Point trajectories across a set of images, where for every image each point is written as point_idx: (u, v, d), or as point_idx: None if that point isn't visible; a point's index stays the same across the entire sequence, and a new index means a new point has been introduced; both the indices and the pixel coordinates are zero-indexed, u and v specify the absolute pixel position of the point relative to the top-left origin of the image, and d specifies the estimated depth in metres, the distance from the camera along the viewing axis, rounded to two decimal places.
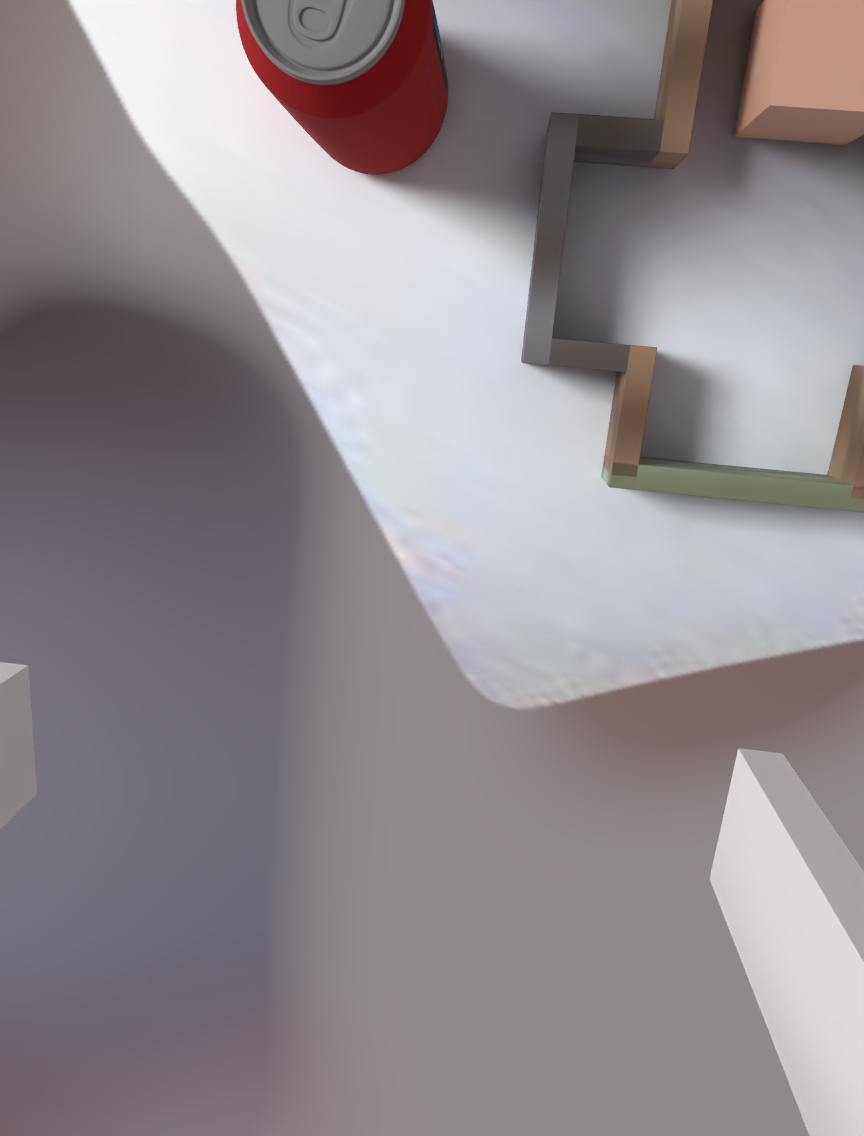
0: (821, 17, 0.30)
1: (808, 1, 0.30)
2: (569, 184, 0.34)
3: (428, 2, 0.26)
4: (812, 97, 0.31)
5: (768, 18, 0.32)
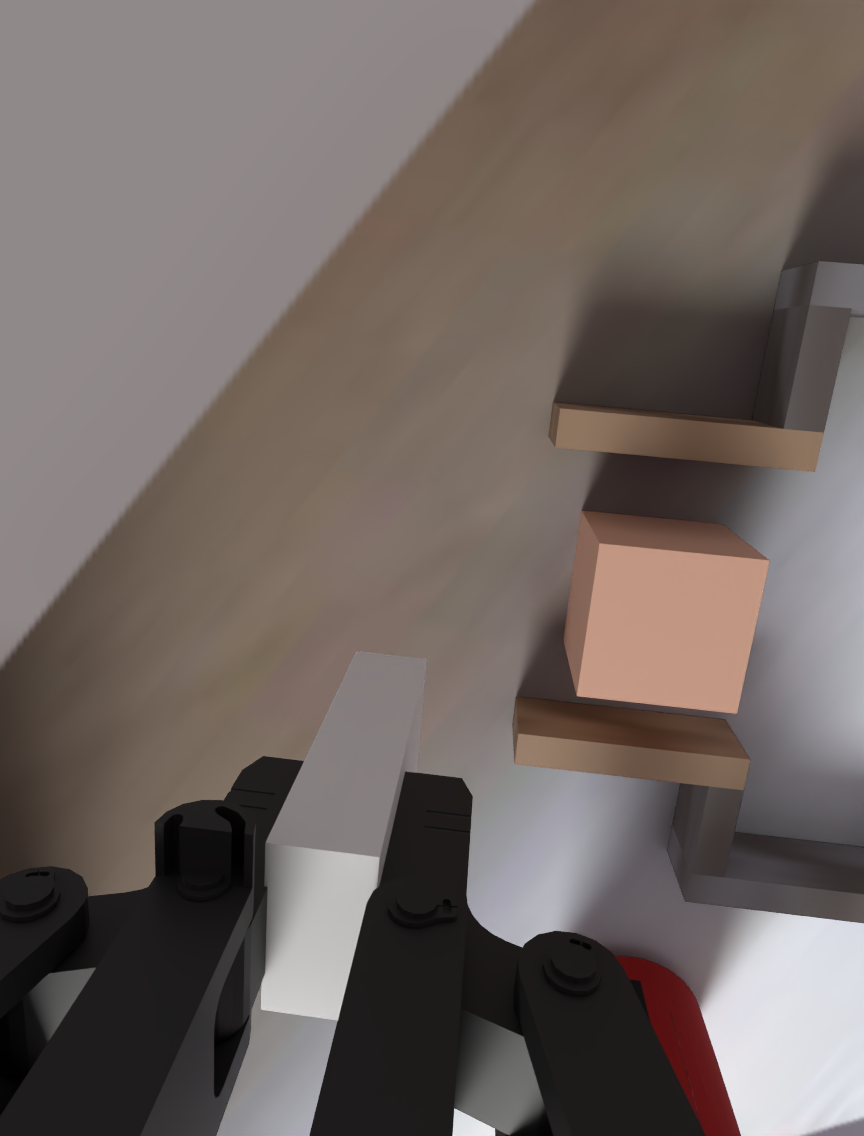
0: (644, 663, 0.24)
1: (625, 680, 0.24)
2: (767, 884, 0.28)
3: None
4: (734, 665, 0.24)
5: None
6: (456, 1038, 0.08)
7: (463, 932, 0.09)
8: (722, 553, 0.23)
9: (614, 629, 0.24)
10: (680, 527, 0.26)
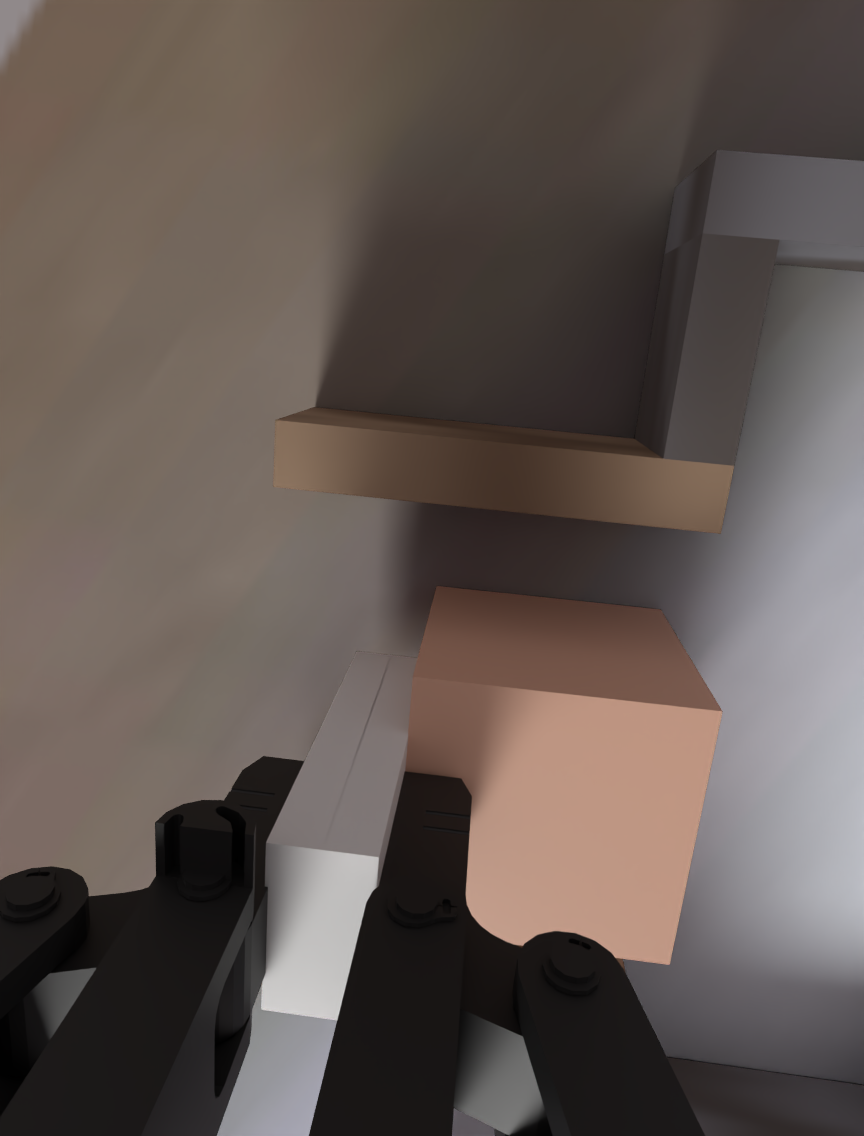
0: (504, 879, 0.14)
1: (473, 905, 0.14)
2: None
3: None
4: (664, 887, 0.13)
5: None
6: (456, 1038, 0.08)
7: (463, 932, 0.09)
8: (637, 694, 0.13)
9: None
10: (586, 622, 0.16)
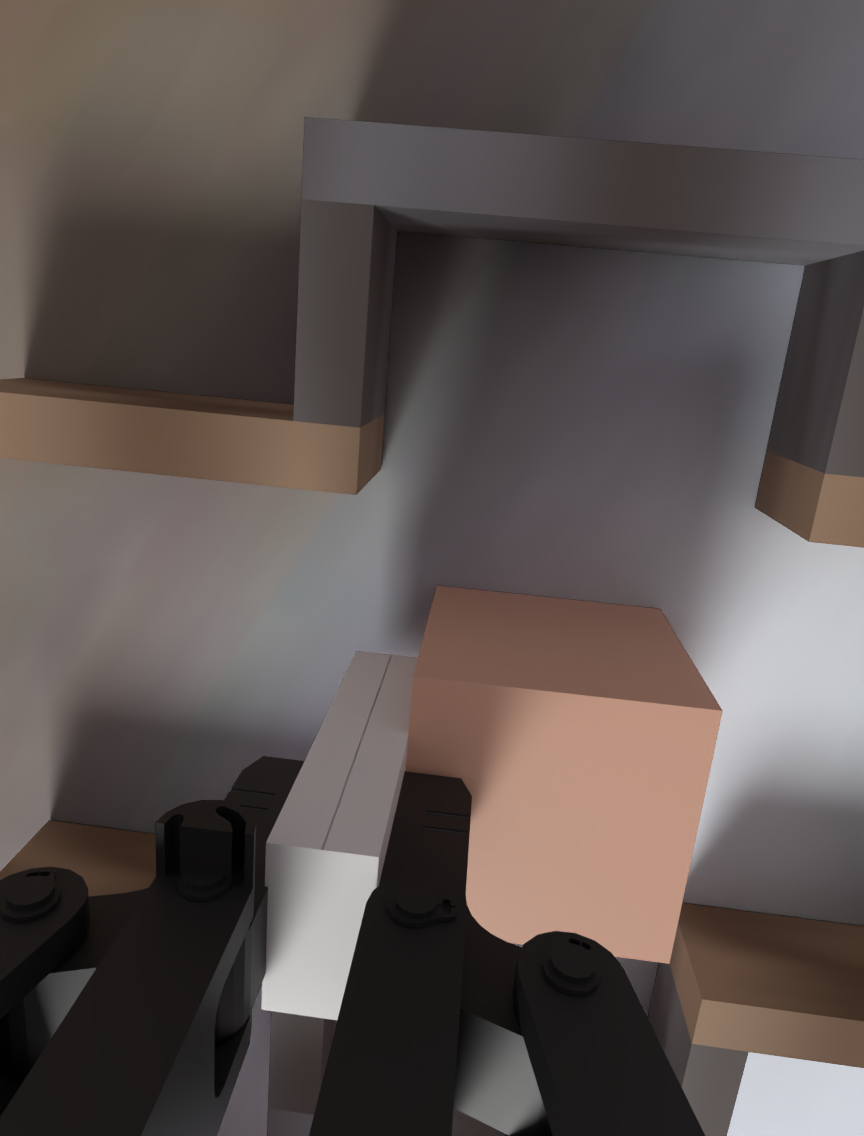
0: (505, 879, 0.14)
1: (474, 904, 0.14)
2: None
3: None
4: (663, 886, 0.13)
5: None
6: (456, 1038, 0.08)
7: (463, 932, 0.09)
8: (637, 694, 0.13)
9: None
10: (586, 621, 0.16)
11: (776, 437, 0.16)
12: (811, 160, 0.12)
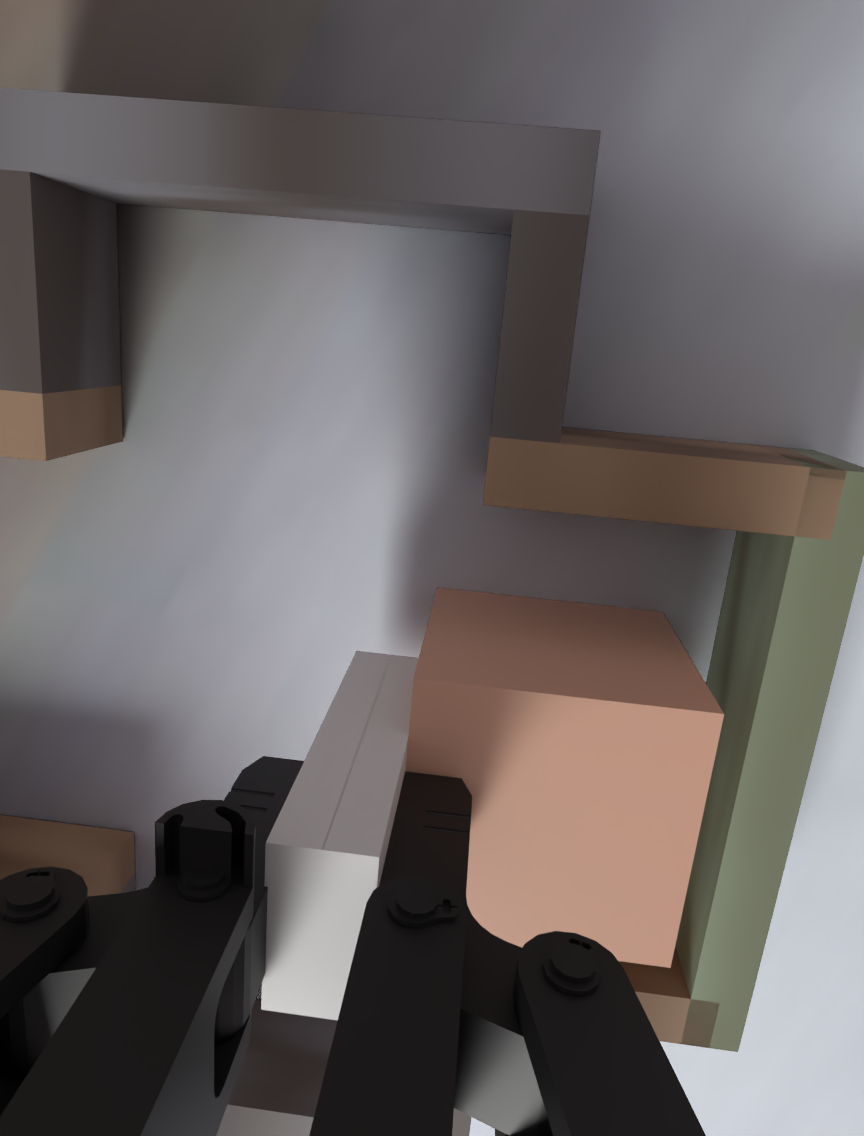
0: (505, 882, 0.14)
1: (474, 907, 0.14)
2: None
3: None
4: (665, 889, 0.13)
5: None
6: (456, 1038, 0.08)
7: (463, 932, 0.09)
8: (639, 697, 0.13)
9: None
10: (587, 624, 0.16)
11: None
12: (440, 123, 0.12)
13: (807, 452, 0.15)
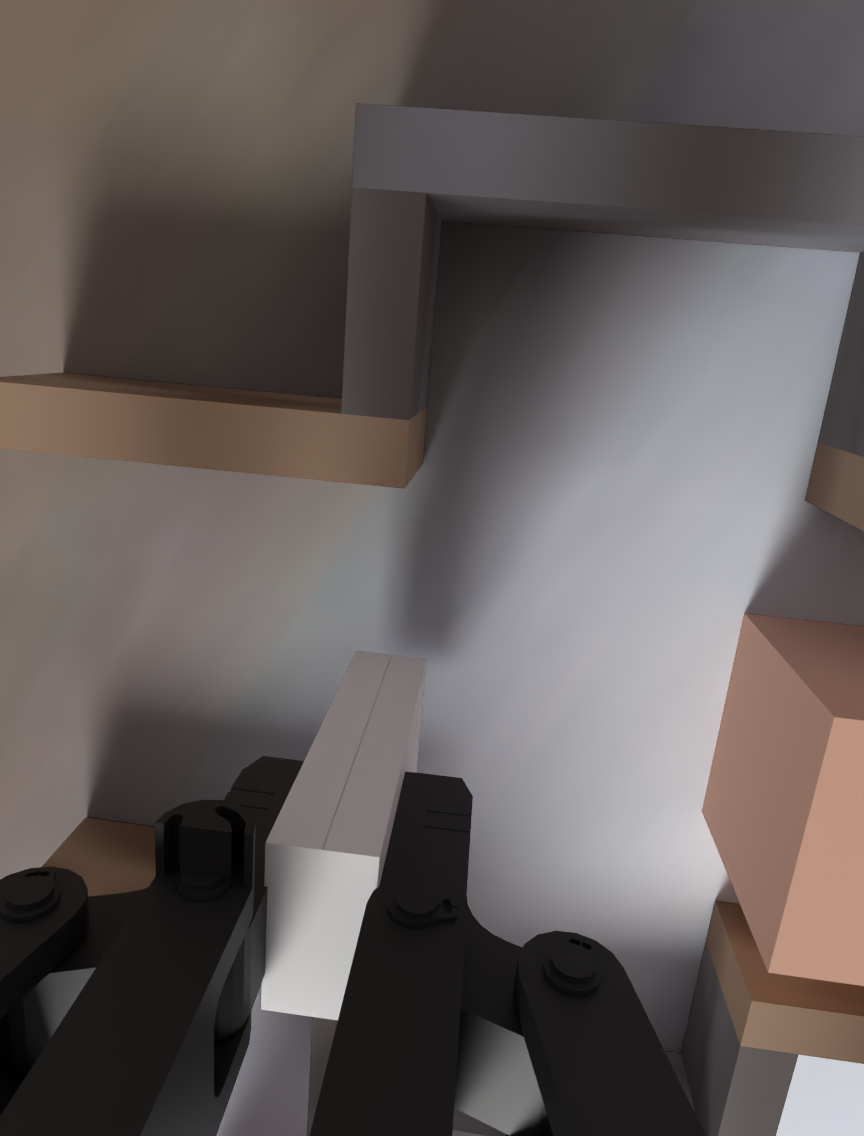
0: None
1: (861, 951, 0.13)
2: None
3: None
4: None
5: None
6: (456, 1038, 0.08)
7: (463, 932, 0.09)
8: None
9: (848, 866, 0.13)
10: None
11: (829, 428, 0.15)
12: None
13: None
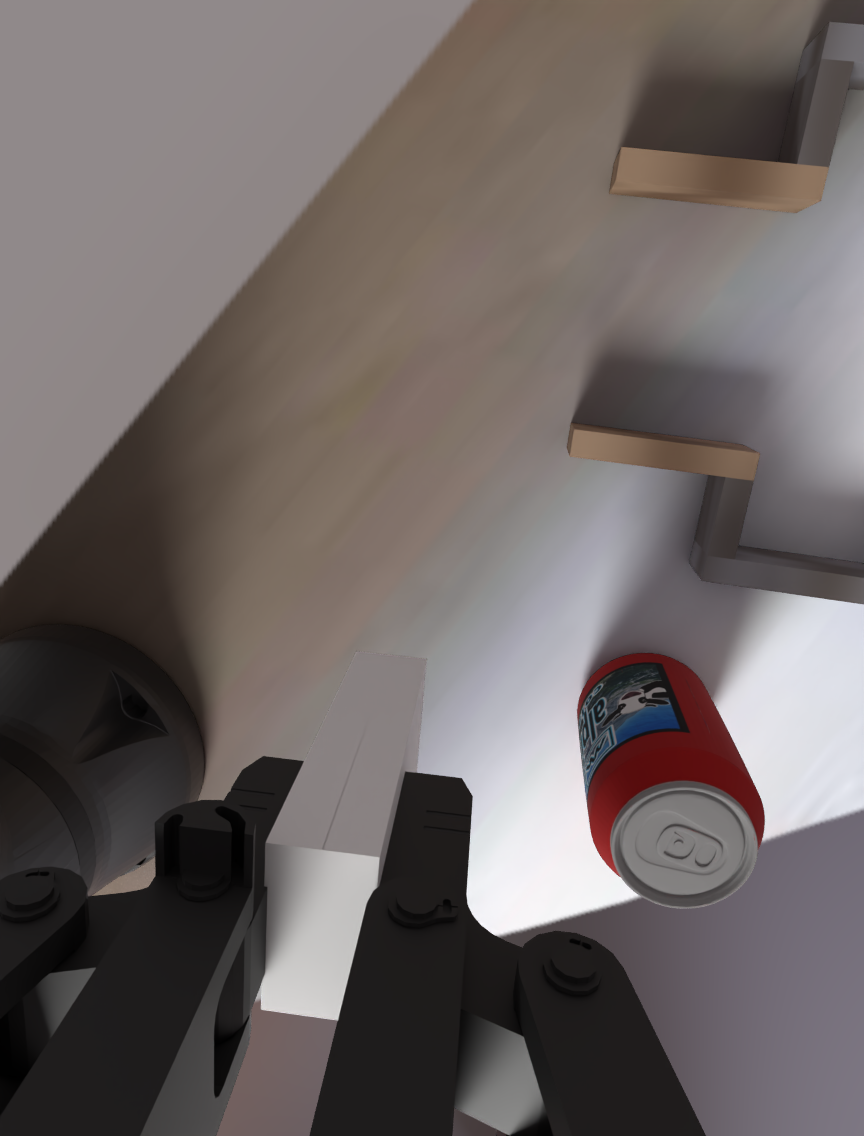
0: None
1: None
2: (769, 565, 0.35)
3: (685, 749, 0.30)
4: None
5: None
6: (456, 1038, 0.08)
7: (463, 932, 0.09)
8: None
9: None
10: None
11: None
12: None
13: None
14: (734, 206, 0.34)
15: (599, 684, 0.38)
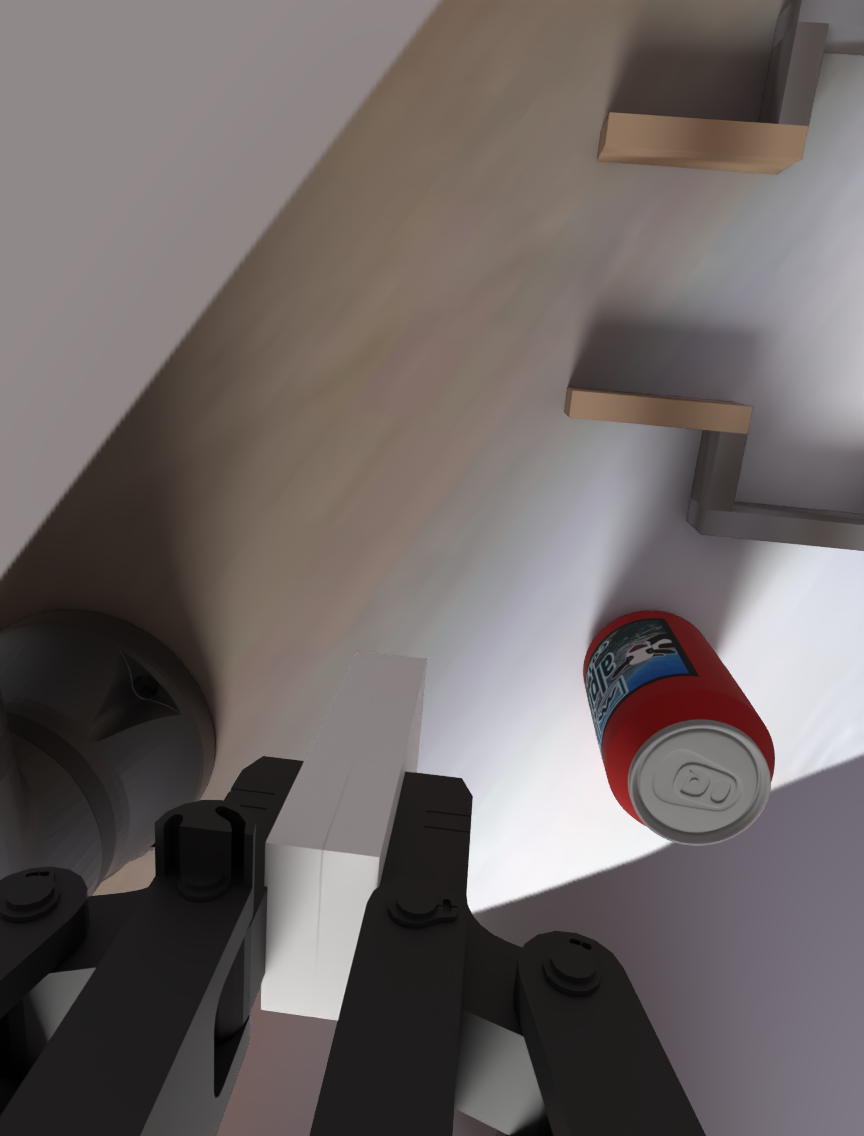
0: None
1: None
2: (765, 516, 0.36)
3: (697, 690, 0.31)
4: None
5: None
6: (457, 1038, 0.08)
7: (464, 932, 0.09)
8: None
9: None
10: None
11: None
12: None
13: None
14: (718, 169, 0.35)
15: (605, 642, 0.39)
